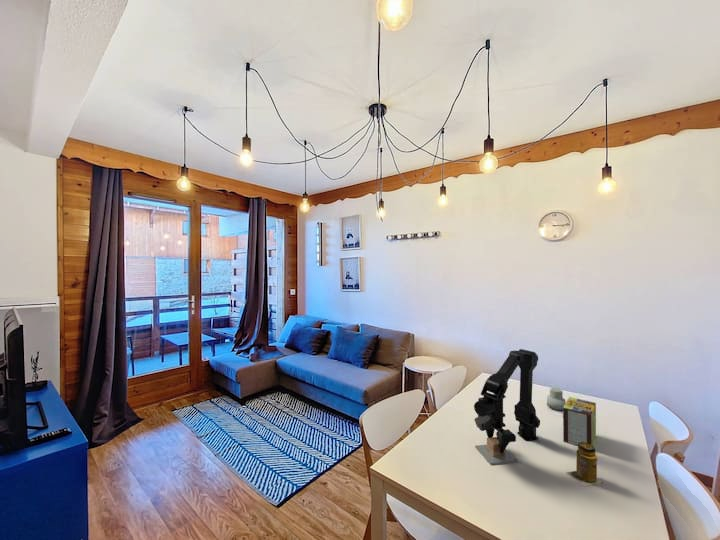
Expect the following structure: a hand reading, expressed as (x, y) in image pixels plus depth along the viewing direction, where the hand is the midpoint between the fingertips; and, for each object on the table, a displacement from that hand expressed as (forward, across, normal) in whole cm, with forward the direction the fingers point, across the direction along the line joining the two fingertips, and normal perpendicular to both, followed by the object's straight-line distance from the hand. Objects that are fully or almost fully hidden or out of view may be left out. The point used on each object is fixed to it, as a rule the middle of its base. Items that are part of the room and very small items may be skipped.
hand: (495, 446), depth 127 cm
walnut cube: (+2, 0, 0) cm, 2 cm away
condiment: (+3, +18, +24) cm, 30 cm away
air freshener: (+3, -34, +57) cm, 66 cm away
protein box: (+3, -5, +44) cm, 44 cm away
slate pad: (+3, 0, 0) cm, 3 cm away
